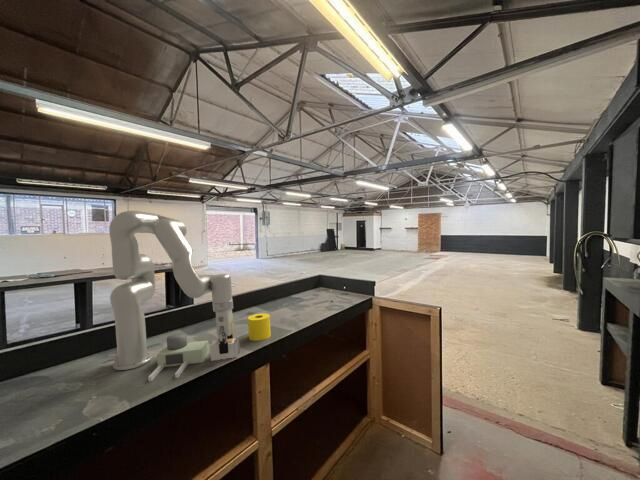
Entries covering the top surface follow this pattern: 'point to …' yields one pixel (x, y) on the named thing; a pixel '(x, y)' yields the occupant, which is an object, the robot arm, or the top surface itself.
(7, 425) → the top surface
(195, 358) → the green box with window
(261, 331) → the tape roll
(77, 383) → the top surface
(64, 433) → the top surface
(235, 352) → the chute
